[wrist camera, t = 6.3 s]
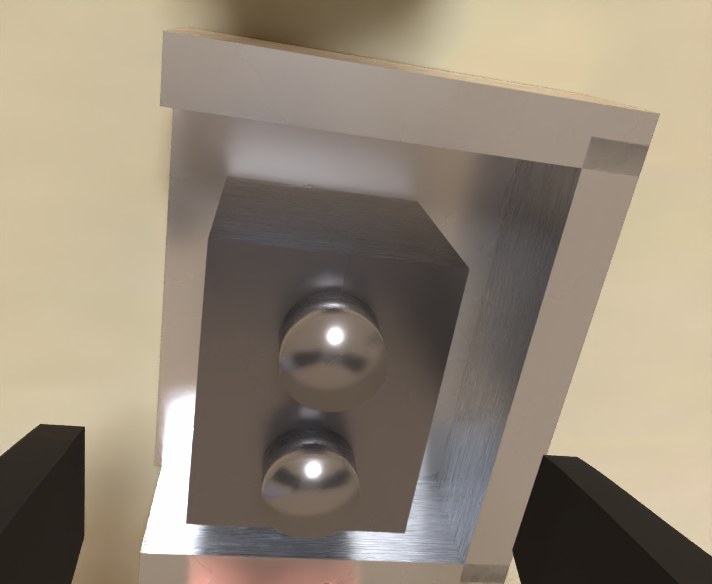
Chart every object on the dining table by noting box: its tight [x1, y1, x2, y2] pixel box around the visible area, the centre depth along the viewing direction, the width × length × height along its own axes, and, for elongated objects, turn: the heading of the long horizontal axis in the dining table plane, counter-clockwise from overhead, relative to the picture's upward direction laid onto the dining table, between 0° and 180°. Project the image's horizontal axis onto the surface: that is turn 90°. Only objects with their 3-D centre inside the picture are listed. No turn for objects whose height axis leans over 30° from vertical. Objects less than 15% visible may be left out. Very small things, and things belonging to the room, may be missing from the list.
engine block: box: [186, 176, 469, 539], centre depth 14 cm, size 4×6×6 cm
